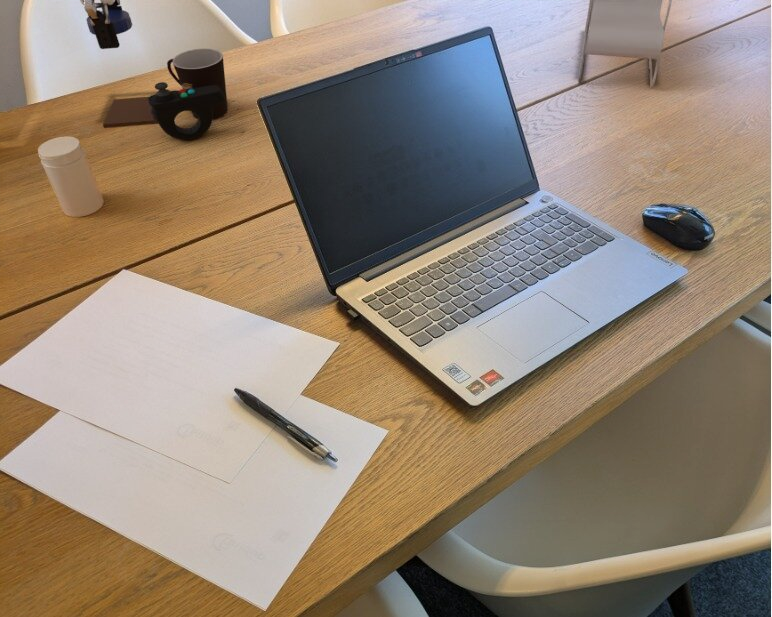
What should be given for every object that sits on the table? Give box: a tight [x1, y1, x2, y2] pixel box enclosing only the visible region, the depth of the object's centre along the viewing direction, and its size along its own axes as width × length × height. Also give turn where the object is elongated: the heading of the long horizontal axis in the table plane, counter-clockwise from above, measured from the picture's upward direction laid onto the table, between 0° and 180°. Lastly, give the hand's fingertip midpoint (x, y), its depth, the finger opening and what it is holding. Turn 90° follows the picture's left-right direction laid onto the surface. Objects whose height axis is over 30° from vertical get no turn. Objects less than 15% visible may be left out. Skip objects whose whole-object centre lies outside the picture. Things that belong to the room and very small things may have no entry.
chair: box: [577, 0, 673, 89], centre depth 124 cm, size 13×25×20 cm, turn 165°
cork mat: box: [102, 96, 158, 128], centre depth 122 cm, size 10×10×1 cm
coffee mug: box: [166, 48, 229, 121], centre depth 118 cm, size 12×9×10 cm
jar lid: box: [86, 9, 133, 36], centre depth 111 cm, size 7×7×2 cm
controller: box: [148, 81, 225, 141], centre depth 111 cm, size 4×12×10 cm, turn 111°
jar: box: [37, 136, 105, 218], centre depth 97 cm, size 6×6×10 cm
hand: (114, 38), depth 113 cm, fingers closed on jar lid, 6 cm apart
